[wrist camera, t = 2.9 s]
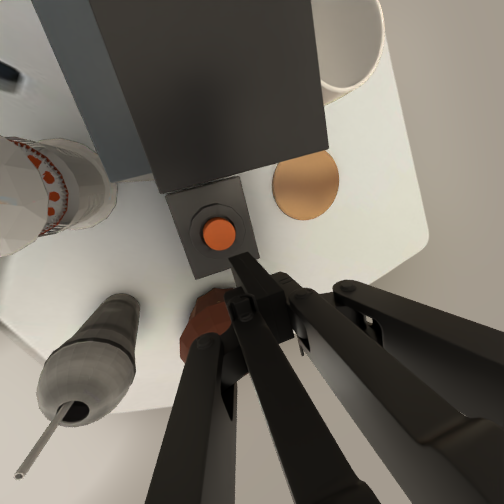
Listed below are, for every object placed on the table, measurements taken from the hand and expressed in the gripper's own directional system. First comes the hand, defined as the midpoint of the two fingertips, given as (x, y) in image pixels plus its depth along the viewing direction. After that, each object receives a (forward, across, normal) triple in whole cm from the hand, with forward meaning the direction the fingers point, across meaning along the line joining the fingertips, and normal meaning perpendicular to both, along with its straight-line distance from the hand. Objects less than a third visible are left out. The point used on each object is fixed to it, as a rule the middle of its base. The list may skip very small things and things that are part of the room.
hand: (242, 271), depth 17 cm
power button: (+13, 0, 0) cm, 13 cm away
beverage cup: (+17, -15, -7) cm, 24 cm away
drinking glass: (+17, +11, +13) cm, 24 cm away
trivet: (+17, +14, +2) cm, 22 cm away
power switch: (+17, 0, 0) cm, 17 cm away
